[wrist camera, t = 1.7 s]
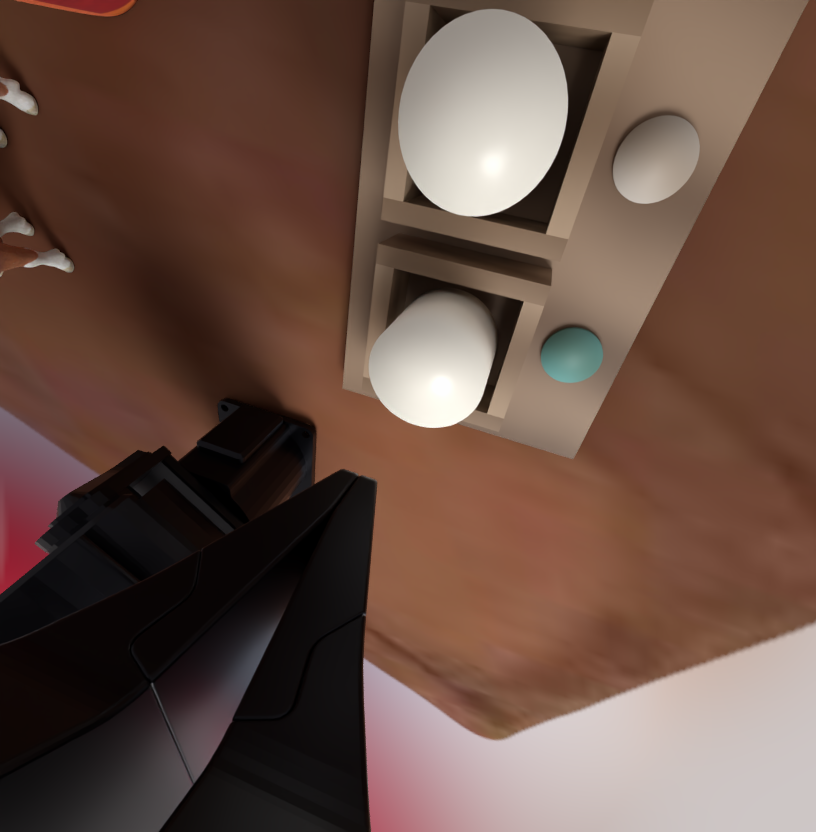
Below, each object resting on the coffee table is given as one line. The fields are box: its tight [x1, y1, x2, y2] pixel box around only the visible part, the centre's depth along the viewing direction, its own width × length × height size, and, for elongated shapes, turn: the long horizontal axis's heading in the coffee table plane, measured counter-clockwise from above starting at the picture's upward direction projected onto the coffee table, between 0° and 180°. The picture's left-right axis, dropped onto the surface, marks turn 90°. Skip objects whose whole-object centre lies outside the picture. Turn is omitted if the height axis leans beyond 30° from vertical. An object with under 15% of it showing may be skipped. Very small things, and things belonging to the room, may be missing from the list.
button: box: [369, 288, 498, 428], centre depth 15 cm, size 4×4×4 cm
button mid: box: [398, 9, 568, 216], centre depth 11 cm, size 4×4×4 cm
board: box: [343, 0, 809, 459], centre depth 13 cm, size 24×12×4 cm, turn 171°
